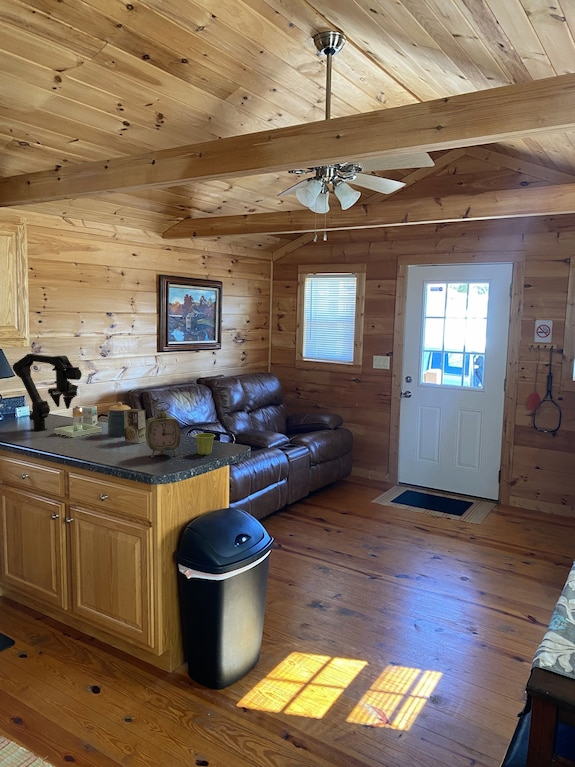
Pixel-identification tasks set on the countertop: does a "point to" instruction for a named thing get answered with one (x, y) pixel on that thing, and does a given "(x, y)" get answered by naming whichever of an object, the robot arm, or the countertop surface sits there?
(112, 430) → the canister
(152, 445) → the tabletop clock
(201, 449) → the plant pot
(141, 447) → the countertop surface
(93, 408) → the light bulb box
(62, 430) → the cell tray
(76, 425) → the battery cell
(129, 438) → the coffee box
